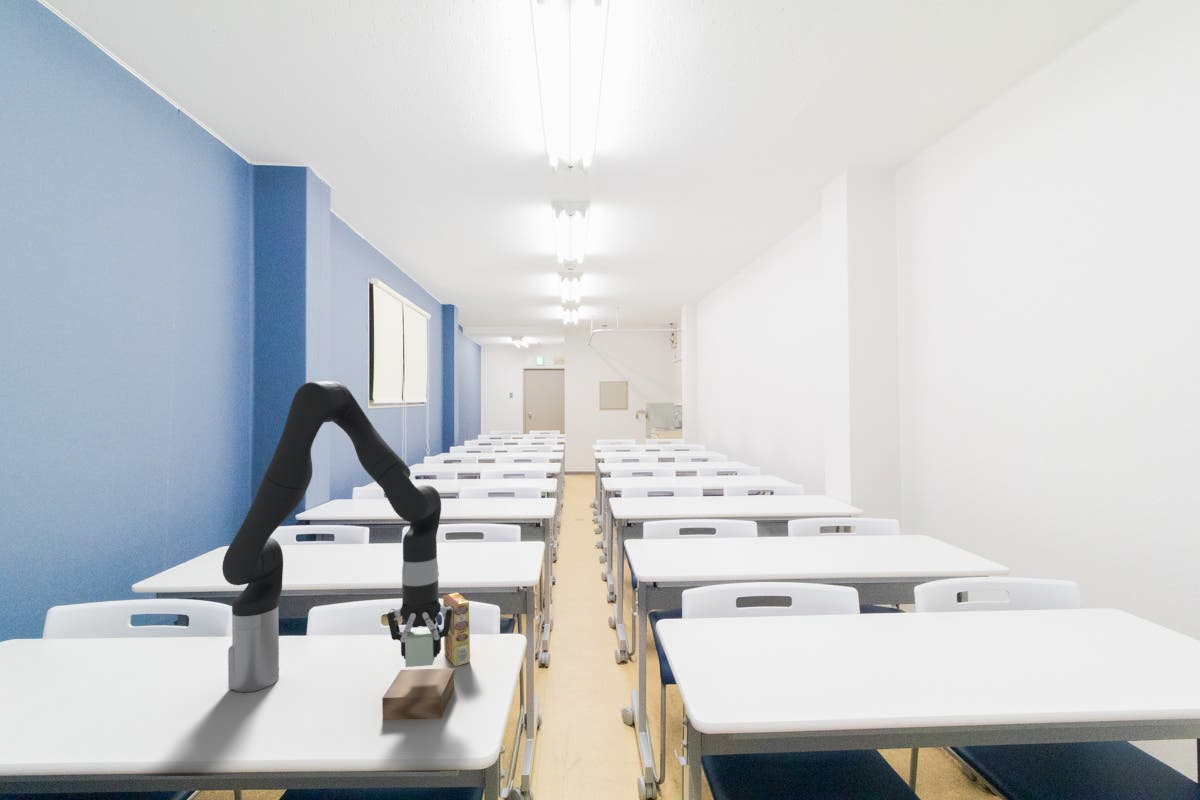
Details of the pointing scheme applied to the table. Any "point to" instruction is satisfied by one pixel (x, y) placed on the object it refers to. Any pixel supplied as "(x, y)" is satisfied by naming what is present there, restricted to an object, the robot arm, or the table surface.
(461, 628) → the candy box
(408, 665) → the sage cube
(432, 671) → the walnut block
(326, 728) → the table surface
